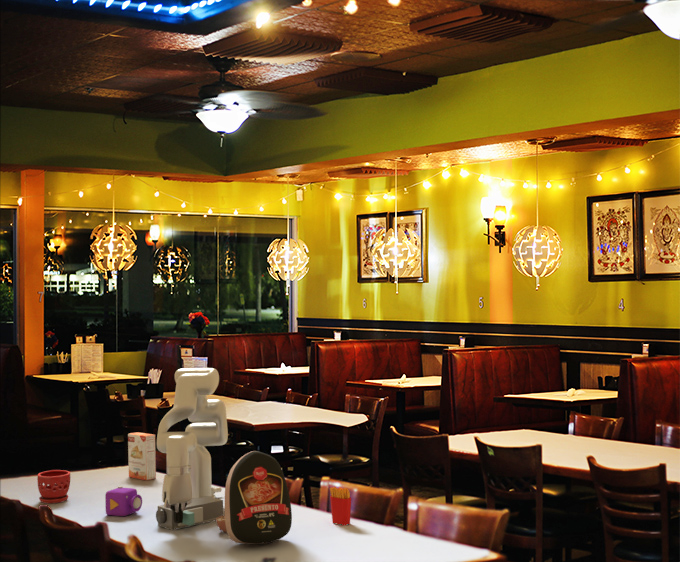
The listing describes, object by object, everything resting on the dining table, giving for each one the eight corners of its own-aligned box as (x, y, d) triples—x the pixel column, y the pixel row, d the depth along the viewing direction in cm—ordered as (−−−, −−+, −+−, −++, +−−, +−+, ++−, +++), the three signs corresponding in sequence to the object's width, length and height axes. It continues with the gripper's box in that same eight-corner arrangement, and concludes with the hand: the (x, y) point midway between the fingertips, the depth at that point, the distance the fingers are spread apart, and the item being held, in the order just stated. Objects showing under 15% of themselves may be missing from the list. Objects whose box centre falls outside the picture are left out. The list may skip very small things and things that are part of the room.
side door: (201, 520, 314) (201, 506, 314) (210, 523, 310) (210, 509, 310) (177, 525, 308) (177, 511, 308) (186, 528, 303) (186, 514, 303)
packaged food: (234, 554, 274) (233, 460, 275) (218, 539, 292) (216, 451, 293) (298, 545, 283) (296, 454, 284) (279, 531, 301) (277, 445, 302)
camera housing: (208, 514, 329) (208, 496, 329) (224, 519, 321) (223, 500, 321) (154, 526, 313) (153, 506, 313) (168, 531, 305) (168, 511, 305)
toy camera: (135, 518, 326) (135, 491, 326) (102, 517, 329) (102, 490, 329) (147, 511, 337) (147, 485, 337) (115, 510, 339) (115, 485, 340)
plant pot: (30, 504, 354) (30, 474, 355) (52, 497, 367) (52, 469, 367) (56, 506, 349) (55, 476, 350) (77, 499, 362) (76, 470, 362)
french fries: (353, 524, 309) (353, 487, 310) (345, 526, 306) (345, 489, 307) (335, 520, 316) (334, 484, 316) (327, 522, 312) (326, 486, 313)
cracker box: (127, 477, 407) (127, 433, 407) (138, 475, 411) (137, 431, 412) (145, 480, 397) (145, 435, 398) (156, 478, 402) (155, 434, 403)
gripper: (190, 466, 312) (190, 517, 311) (153, 472, 302) (154, 524, 301) (201, 468, 306) (202, 520, 306) (164, 475, 296) (165, 528, 296)
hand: (178, 522), depth 304 cm, fingers closed
